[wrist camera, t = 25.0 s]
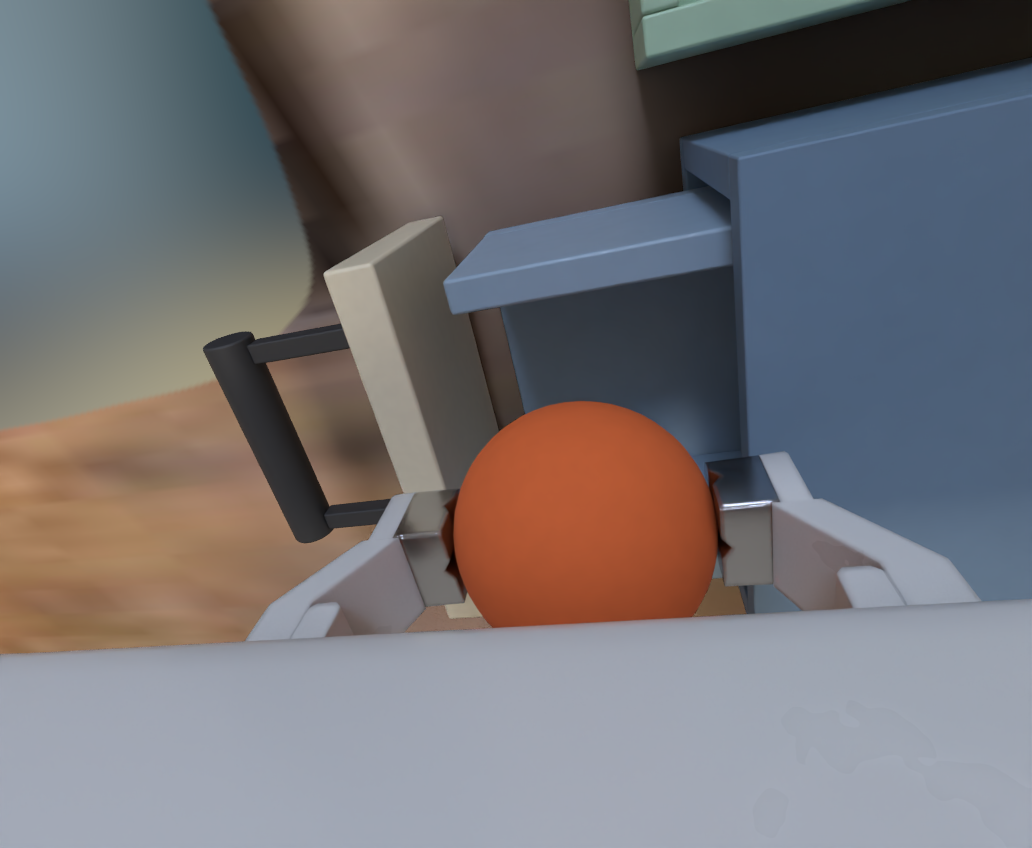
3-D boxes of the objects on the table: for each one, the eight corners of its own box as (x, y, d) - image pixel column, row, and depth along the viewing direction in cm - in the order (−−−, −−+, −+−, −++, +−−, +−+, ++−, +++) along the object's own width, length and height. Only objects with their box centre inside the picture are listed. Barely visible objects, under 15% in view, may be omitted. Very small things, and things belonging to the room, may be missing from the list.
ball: (454, 379, 13) (380, 518, 8) (686, 343, 12) (740, 481, 7) (504, 552, 15) (466, 733, 11) (703, 535, 14) (751, 728, 10)
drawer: (353, 509, 24) (279, 630, 18) (247, 257, 19) (104, 317, 14) (833, 459, 20) (922, 592, 14) (846, 126, 15) (986, 136, 10)
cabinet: (705, 472, 22) (755, 646, 15) (678, 137, 16) (736, 157, 9) (1136, 426, 19) (1457, 616, 12) (1268, 3, 14) (1985, -113, 7)
